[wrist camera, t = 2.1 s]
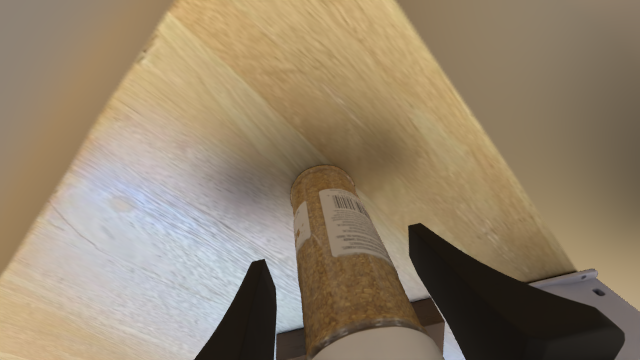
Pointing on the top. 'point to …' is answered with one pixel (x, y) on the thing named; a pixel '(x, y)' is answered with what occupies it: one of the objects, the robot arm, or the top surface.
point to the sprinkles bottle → (349, 277)
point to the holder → (293, 342)
